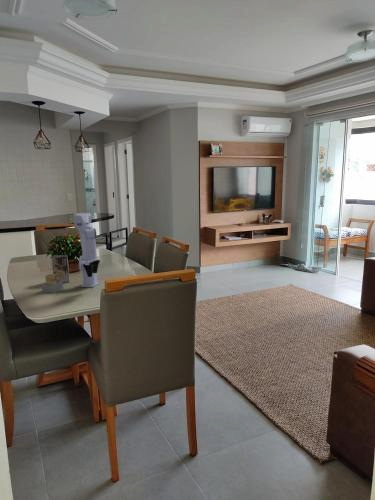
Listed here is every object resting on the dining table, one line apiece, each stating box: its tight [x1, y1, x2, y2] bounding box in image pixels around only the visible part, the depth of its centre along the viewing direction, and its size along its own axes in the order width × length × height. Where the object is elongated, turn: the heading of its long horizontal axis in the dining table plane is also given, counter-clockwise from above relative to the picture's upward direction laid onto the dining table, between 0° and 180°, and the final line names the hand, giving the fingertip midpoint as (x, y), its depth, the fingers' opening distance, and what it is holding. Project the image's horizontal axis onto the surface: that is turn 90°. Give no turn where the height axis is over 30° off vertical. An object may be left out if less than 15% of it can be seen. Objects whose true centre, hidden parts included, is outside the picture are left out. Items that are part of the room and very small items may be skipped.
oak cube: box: [44, 273, 59, 285], centre depth 204 cm, size 5×5×5 cm
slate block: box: [41, 282, 64, 294], centre depth 205 cm, size 8×8×4 cm
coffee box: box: [51, 254, 71, 284], centre depth 221 cm, size 9×6×16 cm
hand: (92, 274), depth 198 cm, fingers open, 7 cm apart
